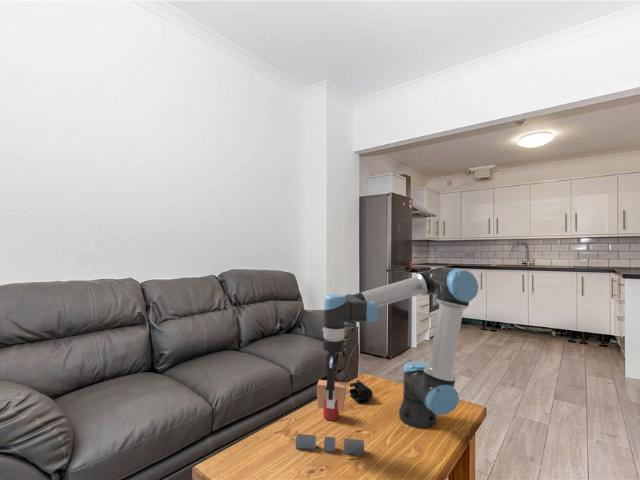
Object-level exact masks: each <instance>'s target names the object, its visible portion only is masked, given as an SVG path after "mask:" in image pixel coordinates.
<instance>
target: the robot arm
mask: <svg viewBox="0 0 640 480" xmlns="http://www.w3.org/2000/svg"><path fill="white" fill-rule="evenodd" d="M478 292H479V282H478V280H477V278H476V277H475V275H474V274H473V273H472V272H471V271H468V270H465V269H462V268H457V267H456V268H455V267H454V268H453V267H447V266H439V267H434V268H431V269H428V270H424V271H421V272H418V273H416V274H415V275H414V276H413V277H409V278H407V279H404V280H400V281H396V282H393V283H390V284H385V285H382V286H379V287H376V288H372V289H369V290H364V291H362V292H358V293H354V294H350V293H348V294H345V295H341V294H328V295H326V296H325V297H324V304H323V305H324V306H323V328H322V329H321V331H322V332H323V333H322V334H323V339H322V349H323V350H324V351H325V352H328V354H327V356H326V361H327V362H326V368H327V369H326V370H327V371H326V380H327V387H325V390H327V408H331V409H334V406H335V402H336V400H335V381H337V382H340V380H339V379H338V367H339V360H340V359H339V358H340V354H339V353H341V352H343V351H344V349H345V340H344V338H345V327H346V326H345V325H346V324H345V323H370V322H372V323H373V322H375V321H377V319H378V317H379V308H380V307H382V306H386V305H389V304H393V303H396V302H399V301H403V300H405V299H406V300H407V299H410V298H413V297H416V296H420V295H421V296H423V297H426V296H429V295H436V301H437V303H438V304H439V306H438V311H437V312H438V313H437V317H436V323H435V328H434V334H433V340H432V345H431V350H430V355H429V361H428V362H426V361H425V362H424V361H408V362H406V363H405V364H403V398H402V401H401V404H400V407H399V410H398V417H399V420H400V421H401V422H402V423H404V424H406V425H408V426H410V427H414V428H419V429H429V427H430V428H433V427H435V426H436V424H437V421H438V420H437V419H438V418H437V416H438V415H439V416H445V415H449V414H450V413H451V412H453V411H454V410H455V409H457V407H458V404H459V401H460V400H459V399H460V396H459V393H458V391H457V389H456V388H455V384H456V383H455V382H456V377H455V376H454V374H453V371H454V370H453V369H454V364H455V358H456V354H457V347H458V342H459V336H460V331H461V324H462V320H463V319H462V318H463V313H464V311H465V310H466V309H468V308H469V304H470V302H471V301H473V300H474V299H475V298H476V297H477V295H478ZM432 426H433V427H432Z"/></svg>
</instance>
